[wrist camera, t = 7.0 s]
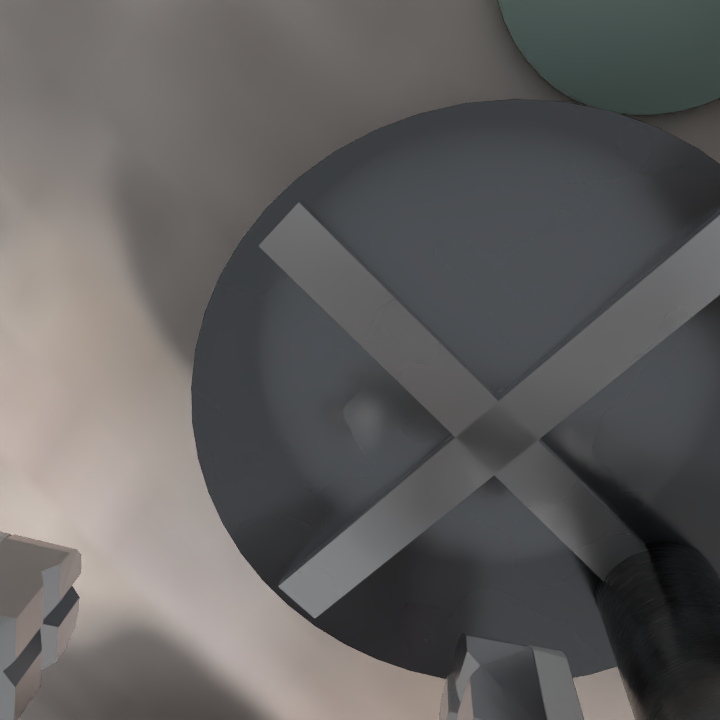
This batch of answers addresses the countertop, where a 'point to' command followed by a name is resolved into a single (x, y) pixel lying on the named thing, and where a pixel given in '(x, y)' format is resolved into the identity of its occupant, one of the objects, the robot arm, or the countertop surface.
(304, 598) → the handwheel
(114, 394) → the countertop surface
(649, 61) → the coaster
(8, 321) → the countertop surface
